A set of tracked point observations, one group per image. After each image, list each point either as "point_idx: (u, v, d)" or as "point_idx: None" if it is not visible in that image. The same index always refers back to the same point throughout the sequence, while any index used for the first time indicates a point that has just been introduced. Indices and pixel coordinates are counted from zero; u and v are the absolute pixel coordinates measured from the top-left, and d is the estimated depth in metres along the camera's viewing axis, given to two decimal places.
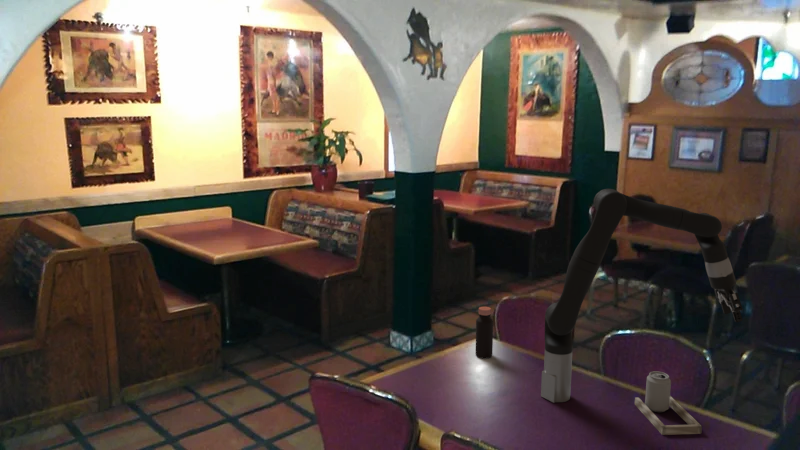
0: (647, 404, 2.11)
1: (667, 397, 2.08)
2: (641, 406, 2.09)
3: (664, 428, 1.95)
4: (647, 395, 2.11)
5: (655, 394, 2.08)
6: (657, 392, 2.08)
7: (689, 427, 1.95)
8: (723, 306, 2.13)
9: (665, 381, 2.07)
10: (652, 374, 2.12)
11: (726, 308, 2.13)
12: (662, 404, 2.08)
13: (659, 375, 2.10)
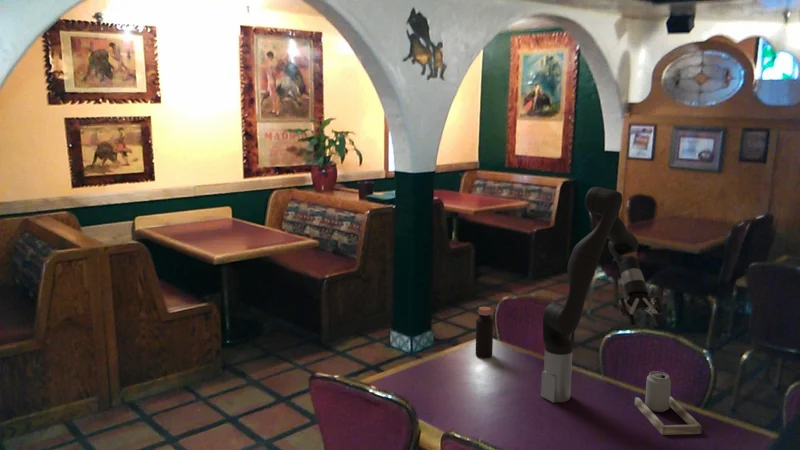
0: (647, 404, 2.11)
1: (667, 397, 2.08)
2: (641, 406, 2.09)
3: (664, 428, 1.95)
4: (647, 395, 2.11)
5: (655, 394, 2.08)
6: (657, 392, 2.08)
7: (689, 427, 1.95)
8: None
9: (665, 381, 2.07)
10: (652, 374, 2.12)
11: None
12: (662, 404, 2.08)
13: (659, 375, 2.10)
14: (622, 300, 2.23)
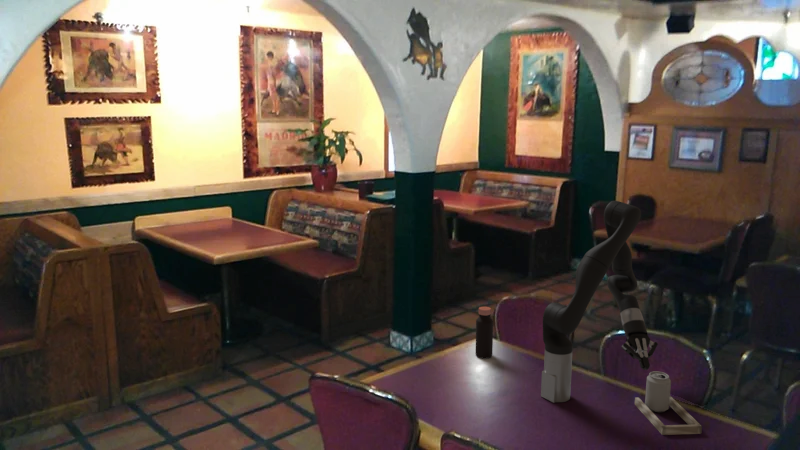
0: (647, 404, 2.11)
1: (667, 397, 2.08)
2: (641, 406, 2.09)
3: (664, 428, 1.95)
4: (647, 395, 2.11)
5: (655, 395, 2.08)
6: (657, 392, 2.07)
7: (689, 427, 1.95)
8: None
9: (665, 381, 2.07)
10: (652, 374, 2.12)
11: None
12: (662, 404, 2.08)
13: (659, 375, 2.10)
14: (626, 345, 2.23)
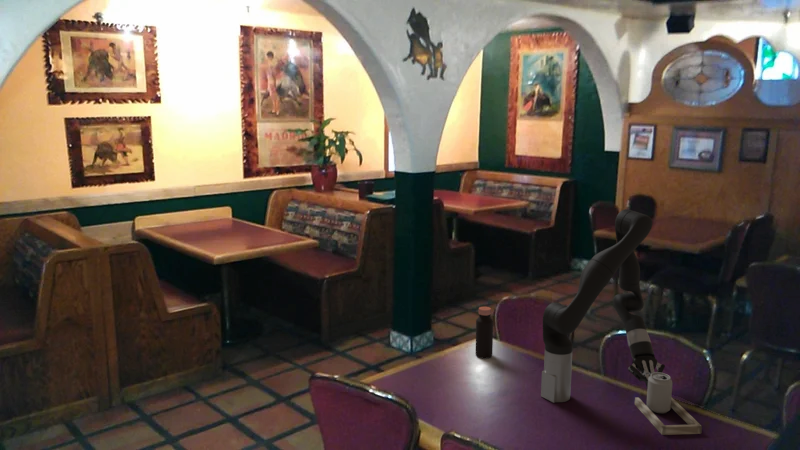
0: (648, 405, 2.10)
1: (668, 398, 2.07)
2: (641, 406, 2.09)
3: (664, 428, 1.95)
4: (648, 396, 2.10)
5: (656, 396, 2.07)
6: (658, 393, 2.07)
7: (689, 427, 1.95)
8: None
9: (666, 382, 2.06)
10: (653, 375, 2.11)
11: None
12: (663, 405, 2.07)
13: (660, 376, 2.10)
14: (633, 368, 2.18)
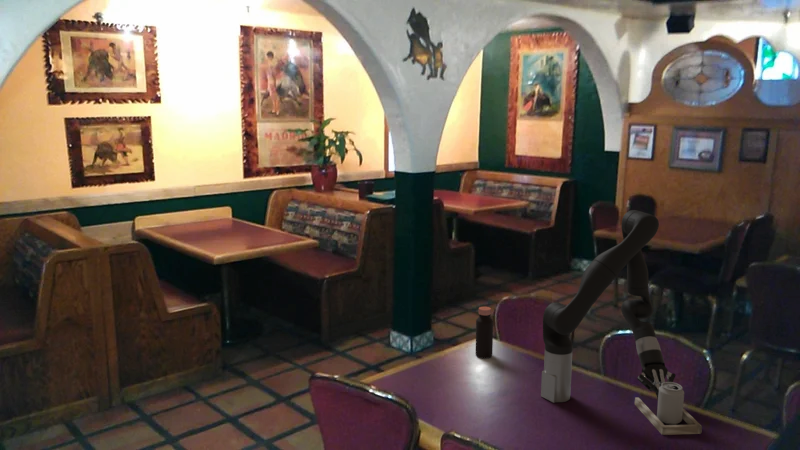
0: (659, 416, 2.03)
1: (680, 409, 2.00)
2: (641, 406, 2.09)
3: (664, 428, 1.95)
4: (659, 407, 2.02)
5: (667, 406, 2.00)
6: (669, 403, 1.99)
7: (689, 427, 1.95)
8: None
9: (678, 392, 1.99)
10: (664, 385, 2.03)
11: None
12: (675, 416, 2.00)
13: (672, 386, 2.02)
14: (642, 377, 2.11)
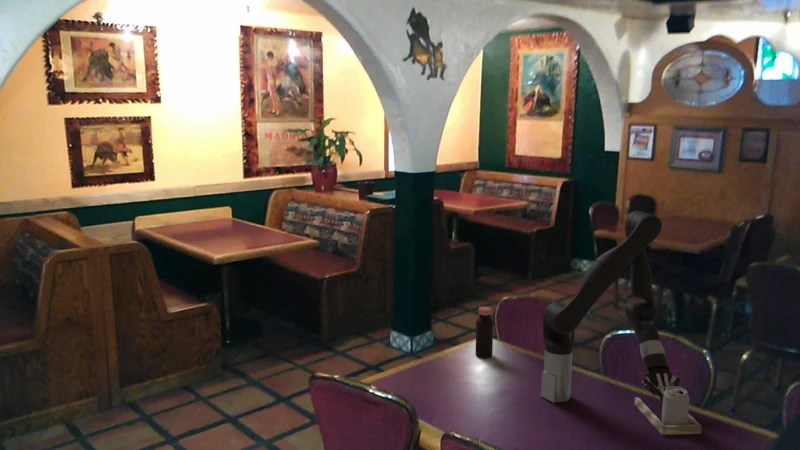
0: (664, 421, 1.99)
1: (685, 414, 1.97)
2: (641, 406, 2.09)
3: (664, 428, 1.95)
4: (664, 412, 1.99)
5: (673, 411, 1.97)
6: (675, 408, 1.96)
7: (689, 427, 1.95)
8: None
9: (683, 397, 1.96)
10: (669, 389, 2.00)
11: None
12: (680, 421, 1.97)
13: (677, 390, 1.99)
14: (646, 381, 2.08)
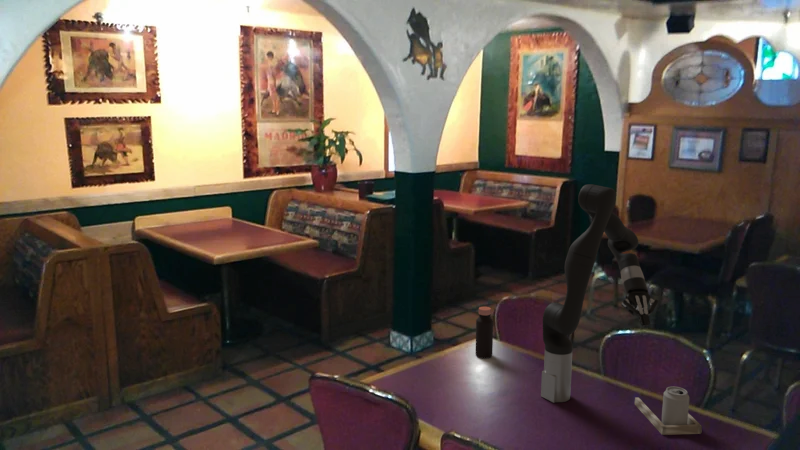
0: (664, 421, 1.99)
1: (685, 414, 1.97)
2: (641, 406, 2.09)
3: (664, 428, 1.95)
4: (664, 412, 1.99)
5: (673, 411, 1.97)
6: (675, 408, 1.96)
7: (689, 427, 1.95)
8: None
9: (683, 397, 1.96)
10: (669, 389, 2.00)
11: None
12: (680, 421, 1.97)
13: (677, 391, 1.99)
14: (626, 302, 2.20)
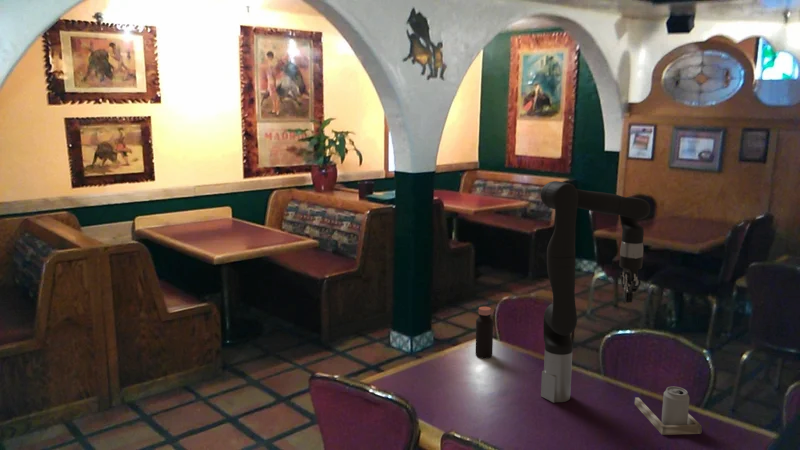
0: (664, 421, 1.99)
1: (686, 414, 1.97)
2: (641, 406, 2.09)
3: (664, 428, 1.95)
4: (664, 412, 1.99)
5: (673, 411, 1.97)
6: (675, 408, 1.96)
7: (689, 427, 1.95)
8: None
9: (684, 397, 1.96)
10: (669, 389, 2.00)
11: None
12: (680, 421, 1.97)
13: (677, 391, 1.99)
14: (620, 275, 2.29)
